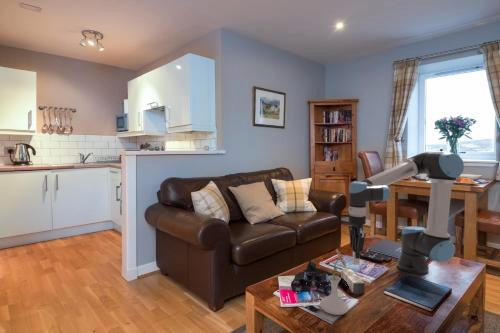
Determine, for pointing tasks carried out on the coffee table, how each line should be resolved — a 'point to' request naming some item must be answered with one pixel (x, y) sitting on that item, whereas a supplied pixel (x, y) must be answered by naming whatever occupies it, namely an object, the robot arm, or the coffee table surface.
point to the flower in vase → (334, 294)
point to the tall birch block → (353, 281)
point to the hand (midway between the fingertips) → (355, 264)
